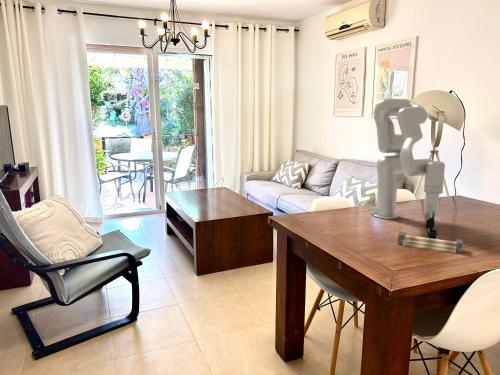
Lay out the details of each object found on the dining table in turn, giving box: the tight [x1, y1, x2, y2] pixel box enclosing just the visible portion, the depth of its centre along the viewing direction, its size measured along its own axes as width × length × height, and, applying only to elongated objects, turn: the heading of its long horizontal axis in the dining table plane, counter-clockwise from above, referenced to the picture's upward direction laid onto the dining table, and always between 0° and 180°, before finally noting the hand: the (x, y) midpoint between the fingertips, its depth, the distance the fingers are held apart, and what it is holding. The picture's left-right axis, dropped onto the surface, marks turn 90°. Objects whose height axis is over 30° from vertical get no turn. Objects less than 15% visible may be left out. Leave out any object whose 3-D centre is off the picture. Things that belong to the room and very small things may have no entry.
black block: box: [422, 226, 441, 240], centre depth 163 cm, size 12×7×5 cm, turn 166°
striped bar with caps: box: [397, 231, 464, 254], centre depth 151 cm, size 23×6×4 cm, turn 62°
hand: (430, 228), depth 170 cm, fingers closed
